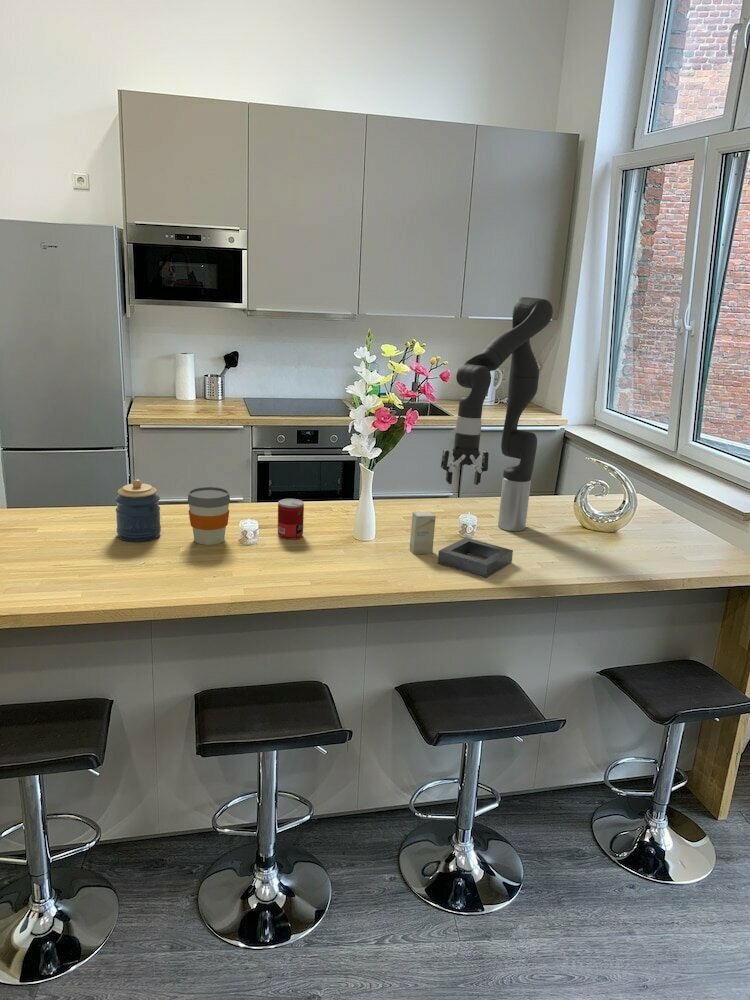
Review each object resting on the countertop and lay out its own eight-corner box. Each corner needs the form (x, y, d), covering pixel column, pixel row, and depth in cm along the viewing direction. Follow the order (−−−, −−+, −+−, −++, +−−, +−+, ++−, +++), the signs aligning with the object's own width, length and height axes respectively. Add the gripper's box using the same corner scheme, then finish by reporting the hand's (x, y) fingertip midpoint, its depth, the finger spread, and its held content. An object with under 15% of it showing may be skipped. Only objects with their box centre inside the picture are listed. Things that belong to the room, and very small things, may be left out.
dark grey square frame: (464, 549, 240) (465, 537, 239) (511, 562, 231) (513, 550, 230) (437, 563, 228) (438, 550, 227) (486, 578, 219) (487, 565, 218)
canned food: (301, 540, 241) (302, 506, 237) (275, 538, 241) (276, 505, 237) (304, 532, 248) (305, 499, 245) (279, 530, 248) (279, 497, 245)
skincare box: (413, 554, 234) (416, 516, 230) (409, 549, 238) (411, 511, 234) (433, 553, 235) (436, 515, 232) (428, 548, 239) (431, 511, 236)
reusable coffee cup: (235, 534, 242) (235, 488, 238) (223, 548, 230) (223, 500, 226) (195, 531, 243) (195, 485, 239) (182, 545, 231) (181, 496, 227)
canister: (154, 543, 231) (152, 486, 226) (110, 541, 231) (107, 484, 226) (166, 529, 244) (164, 475, 238) (124, 527, 244) (122, 472, 238)
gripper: (486, 430, 239) (480, 481, 243) (441, 428, 236) (437, 480, 240) (494, 434, 232) (488, 487, 236) (448, 432, 229) (443, 486, 233)
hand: (462, 484), depth 238 cm, fingers open, 8 cm apart
